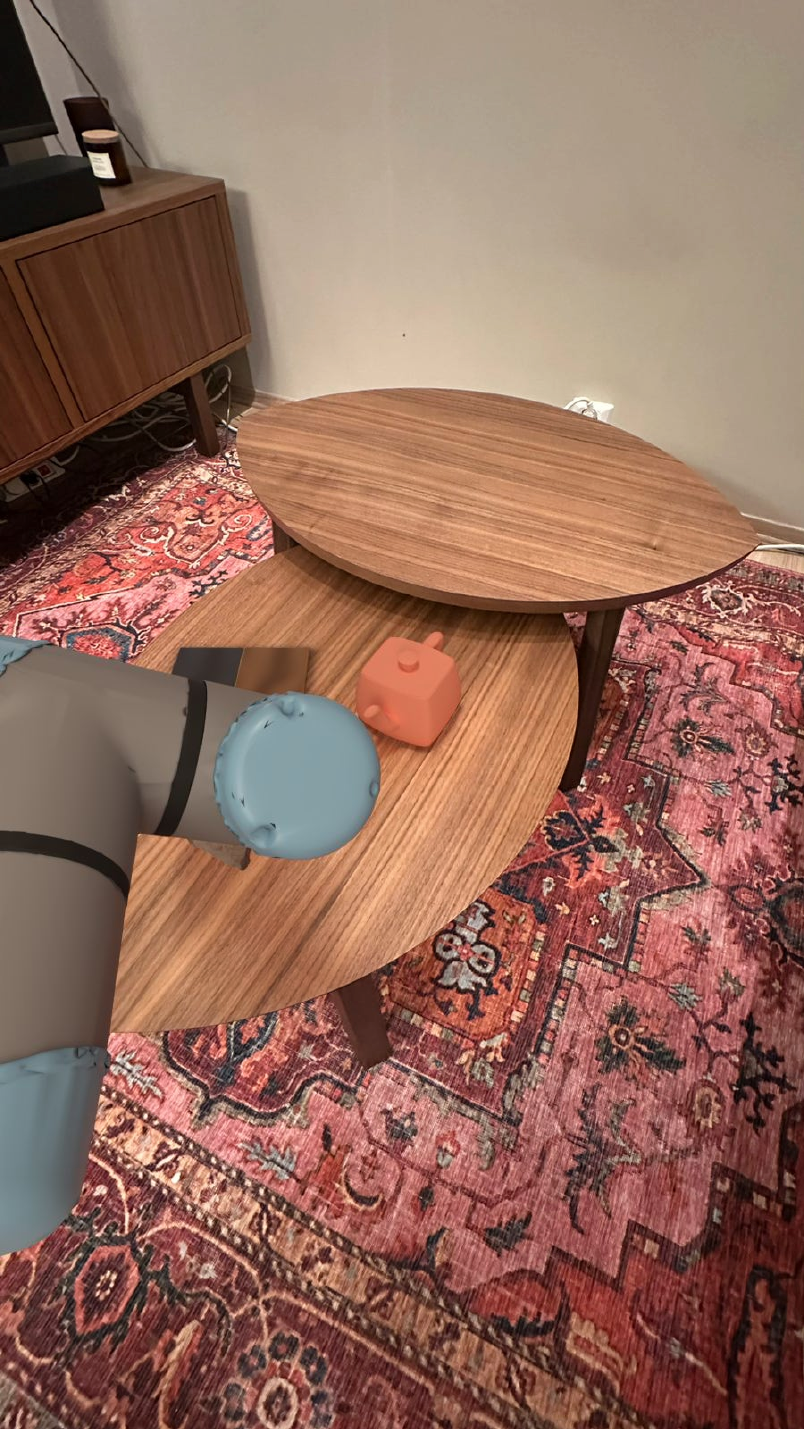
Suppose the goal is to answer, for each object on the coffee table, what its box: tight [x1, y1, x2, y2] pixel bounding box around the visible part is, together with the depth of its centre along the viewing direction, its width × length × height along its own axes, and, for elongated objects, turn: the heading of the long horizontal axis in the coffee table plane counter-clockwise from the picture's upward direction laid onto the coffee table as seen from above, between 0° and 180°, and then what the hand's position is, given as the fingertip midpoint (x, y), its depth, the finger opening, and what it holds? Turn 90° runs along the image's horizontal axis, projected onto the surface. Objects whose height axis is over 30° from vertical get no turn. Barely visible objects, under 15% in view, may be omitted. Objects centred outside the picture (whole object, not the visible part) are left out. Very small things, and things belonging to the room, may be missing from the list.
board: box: [171, 646, 311, 695], centre depth 91 cm, size 18×13×1 cm
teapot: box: [355, 631, 462, 748], centre depth 83 cm, size 12×18×10 cm, turn 150°
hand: (182, 765), depth 64 cm, fingers closed on stone, 7 cm apart
